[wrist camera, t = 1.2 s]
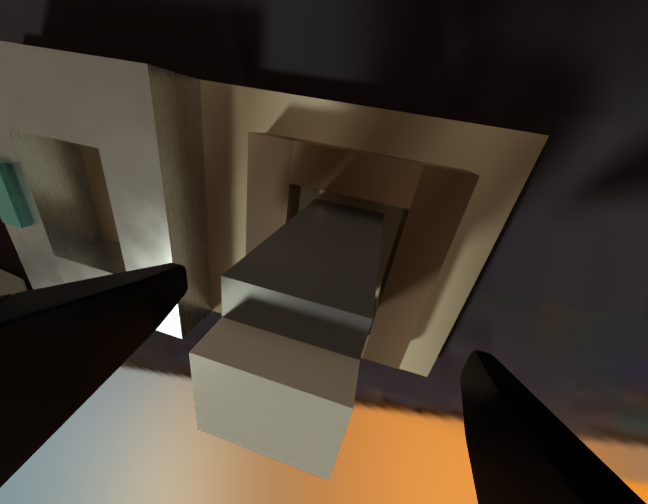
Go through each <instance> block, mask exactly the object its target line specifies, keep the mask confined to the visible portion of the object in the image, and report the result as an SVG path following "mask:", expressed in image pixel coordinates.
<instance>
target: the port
mask: <svg viewBox="0 0 648 504" xmlns="http://www.w3.org/2000/svg"><path fill="white" fill-rule="evenodd" d="M79 144H81V145H85V146H90V147H94V148H98V149H99V153H100V158H101V162H102V166H103V171H104V175H105V180H106V184H107V189H108V193H109V198H110V202H111V206H112V211H113V215H114V220H115V224H116V229H117V233H118V237H119V242H120V243H117V242H113V241H110V240H106V239H103V236H102V233H101V229H100V225H99V221H98V217H97V213H96V209H95V205H94V201H93V197H92V193H91V190H90V186H89V182H88V178H87V174H86V170H85V166H84V162H83V158H82V154H81V150H80V146H79ZM0 217H1V220H2V222H3V223H5V225H6V228H7V230H8V232H9V235H10V237H11V239H12V242H13V244H14V246H15V249H16V251H17V253H18V256H19V258H20V260H21V262H22V265H23V267H24V269H25V272H26V274H27V276H28V279H29V281H30V283H31V286H32V288H33V289H39V288H44V287H49V286H54V285H59V284H64V283H69V282H75V281H80V280H85V279H90V278H95V277H100V276H105V275H111V274H116V273H121V272H126V271H131V270H136V269H141V268H146V267H152V266H157V265H162V264H167V263H177V264H180V265H183V266H185V268H186V270H187V280H188V290H187V292H186V294H185V295H184V296H183V298H182V299H181V300H180V301H179V302H178V304H177V305H176V306H175V307H174V309H173V310H172V311H171V312H170V313H169V315H168V316H167V317H166V318H165V319H164V321H163V322H162V323H161V324H160V325H159V327H158V328H157V329H156V330H157V331H160V332H163V333H166V334H169V335H172V336H175V337H178V338H181V339H183V338H184V337H185V336H186V335H187V334H188V333H189V332H190V331H191V330H192V329H193V328H194V327H195V326H196V325H197V324H198V323H199V322H200V321H202V320H203V319H204V318H205V317H206V316H207V315H208V314H209V313H210V312H211V311H212V300H211V281H210V262H209V243H208V224H207V205H206V186H205V167H204V148H203V129H202V110H201V91H200V79H196V78H193V77H190V76H186V75H183V74H180V73H176V72H173V71H170V70H166V69H163V68H159V67H156V66H153V65H149V64H145V63H139V62H132V61H126V60H119V59H113V58H106V57H100V56H93V55H87V54H81V53H74V52H68V51H61V50H55V49H48V48H42V47H36V46H29V45H23V44H16V43H10V42H3V41H0Z"/></svg>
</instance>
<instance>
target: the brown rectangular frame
mask: <svg viewBox="0 0 648 504" xmlns="http://www.w3.org/2000/svg"><path fill="white" fill-rule="evenodd" d="M479 177H480V176H479V175H477V174H475V173H472V172H470V171H468V170H463V169H458V168H452V167H447V166H442V165H436V164H431V163H426V162H420V161H415V160H410V159H404V158H399V157H394V156H388V155H383V154H378V153H372V152H367V151H362V150H356V149H351V148H345V147H340V146H335V145H329V144H324V143H319V142H313V141H308V140H303V139H297V138H292V137H287V136H281V135H276V134H271V133H261V132H248V163H247V212H246V255H247V254H248V253H250V252H251V251H252V250H253V249H255V248H256V247H257V246H258V245H259V244H261V243H262V242H263V241H264V240H266V239H267V238H268V237H269V236H271V235H272V234H273V233H274V232H275V231H277V230H278V229H279V228H280V227H282V226H283V225H284V224H285V223H287V222H288V221H289V220H290V219H291V218H293V217H294V216H295V215H296V214H298V208H299V200H300V191H301V186H304V187H308V188H313V189H318V190H322V191H327V192H332V193H336V194H341V195H345V196H350V197H355V198H359V199H364V200H369V201H373V202H378V203H382V204H387V205H392V206H396V207H401V208H405V209H404V212H403V216H402V219H401V222H400V225H399V228H398V232H397V235H396V238H395V241H394V245H393V248H392V251H391V254H390V258H389V261H388V264H387V267H386V271H385V274H384V277H383V280H382V284H381V287H380V290H379V293H378V296H377V300H376V303H375V306H374V313H373V320H372V323H371V327H370V330H369V333H368V336H367V339H366V342H365V346H364V349H363V352H362V355H361V358H364V359H367V360H371V361H374V362H377V363H380V364H383V365H387V366H390V367H393V368H396V369H399V367H400V365H401V362H402V360H403V357H404V355H405V353H406V350H407V348H408V346H409V343H410V341H411V338H412V336H413V334H414V331H415V329H416V327H417V324H418V322H419V319H420V317H421V315H422V312H423V310H424V308H425V305H426V303H427V301H428V298H429V296H430V293H431V291H432V289H433V286H434V284H435V282H436V279H437V277H438V274H439V272H440V270H441V267H442V265H443V263H444V260H445V258H446V255H447V253H448V251H449V248H450V246H451V244H452V241H453V239H454V236H455V234H456V232H457V229H458V227H459V225H460V222H461V220H462V217H463V215H464V213H465V210H466V208H467V206H468V203H469V201H470V199H471V196H472V194H473V191H474V189H475V187H476V184H477V182H478V180H479Z"/></svg>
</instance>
